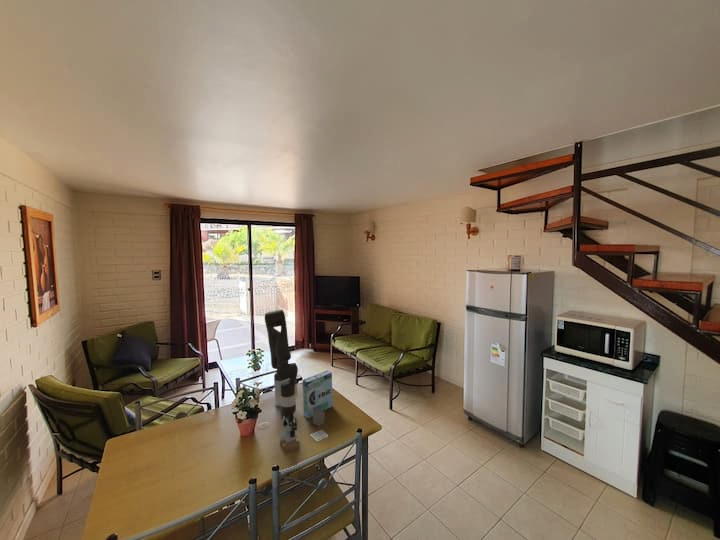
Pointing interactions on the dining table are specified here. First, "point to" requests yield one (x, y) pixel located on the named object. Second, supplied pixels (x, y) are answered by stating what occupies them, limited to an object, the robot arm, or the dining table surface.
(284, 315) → the robot arm
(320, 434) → the swatch
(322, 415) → the translucent grey cup
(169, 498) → the dining table surface
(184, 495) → the dining table surface
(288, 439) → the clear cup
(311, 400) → the gum box
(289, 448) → the walnut block
